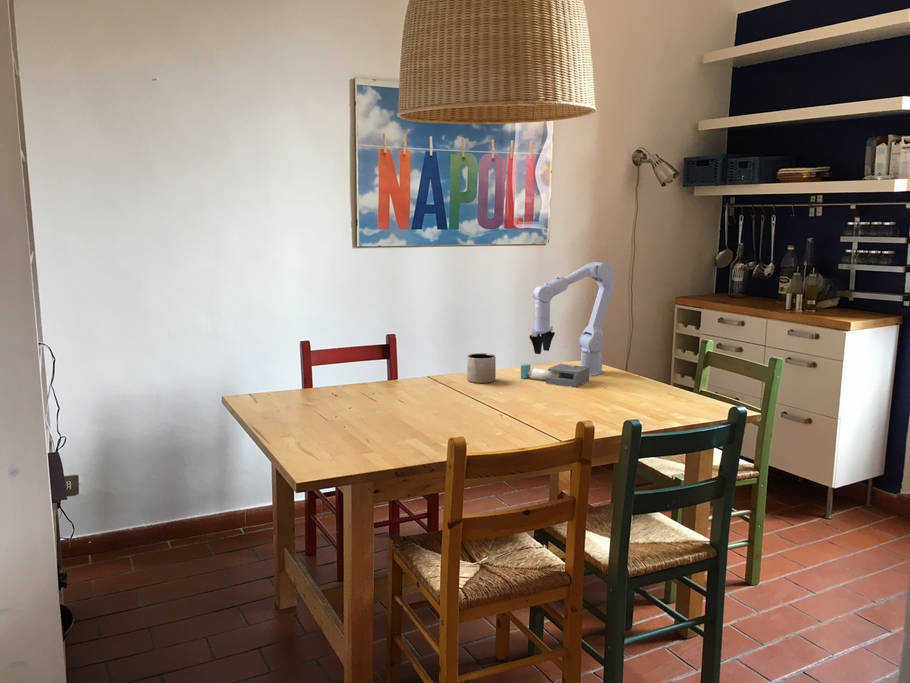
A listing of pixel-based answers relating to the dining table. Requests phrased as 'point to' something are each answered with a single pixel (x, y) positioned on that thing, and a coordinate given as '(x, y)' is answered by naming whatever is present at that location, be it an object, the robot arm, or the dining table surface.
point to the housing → (569, 375)
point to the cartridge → (538, 373)
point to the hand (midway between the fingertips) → (542, 352)
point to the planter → (481, 368)
